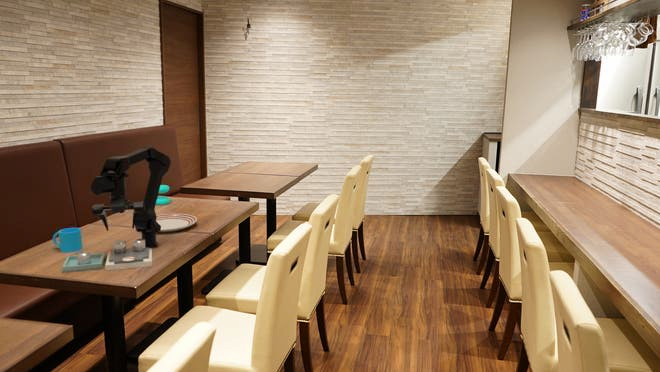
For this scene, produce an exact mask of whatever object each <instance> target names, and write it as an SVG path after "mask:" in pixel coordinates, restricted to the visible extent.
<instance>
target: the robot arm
mask: <svg viewBox="0 0 660 372" xmlns="http://www.w3.org/2000/svg"><path fill="white" fill-rule="evenodd" d="M142 161H146V163H148V171H149V178H148V182H147V186H146V190H145V194H144V199H143V201H134V202H133V204H130V203H131V201H130V199H129V198H127V190H126V178H129V177H130V175H129V174H128V173H126V172H127V171H129V169H131V167H132V166H133V165H135V164H138V163H140V162H142ZM171 161H172V160H171V159H170V157H169V156H168V155H166V154H164V153H163V152H160V151H159V150H157V149H156V148H155V147H152V146H143V147H141V148H139V149H137V150H134V151H132V152H130V153H129V152H128V153H127V154H124V155H120V156H119V155H118V156H111V157H108V158H106V159H105V162H104V165H103V167H102V169H101V171H100V173H99V176H98V175H97V176H94V179H93V180H92V182H91V184H90V190H91V192H92V193H93V194H94V195H96V196H101V195H104V194H108V193H109V199H110V200H109V205H107V206H105V204H104V203H101V204H100V203H99V204H98V203H97V204H94V205H92V207H91V215H93V216H96V217H99V218H100V219H101V221H102V222H103V225H104V227H105V229H106V231H107V232H108V231H109V224H108V217H107V213H106V212H110V213H111V214H114V215H115V214H124V213H125V212H126V211H129V210H130V211H131V210H133V211H132V212H133V213H132V224H131V225H132V226H131V227H132V230H133V229H134V228H135V231H136V232H137V233H138V232H140V233H141V239H145V248H146V247H149V249H151V248H158V246H159V245H158V244H159V243H158V241H157V234H158V233H160V232H159V231H160V230H161V226H160V225H159V224H158V223H157V222H156V217H157V216H156V215H157V213H156V210H155V208H156V206H157V205H156V201H157V197H159V194H160V193H159V189H160V185H162V181H163V177H164V176H165V175H166V174H167V173H168V171H169V169H170V166H171Z"/></svg>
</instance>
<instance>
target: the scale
mask: <svg viewBox="0 0 660 372" xmlns="http://www.w3.org/2000/svg"><path fill="white" fill-rule="evenodd" d="M105 261H106V262H105V266H104V267H105V271H106V272H107V271H116V270H126V269H136V268H148V267H153V248H149V247H146V250H145V251H142V252H134V251H133V248H126V252H125V253H122V254H115V253H114V249H111V251H110V252H108V253H107V258H106V260H105Z"/></svg>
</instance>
